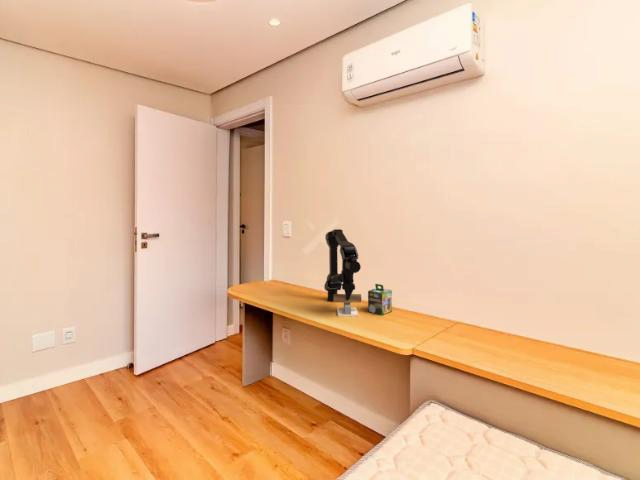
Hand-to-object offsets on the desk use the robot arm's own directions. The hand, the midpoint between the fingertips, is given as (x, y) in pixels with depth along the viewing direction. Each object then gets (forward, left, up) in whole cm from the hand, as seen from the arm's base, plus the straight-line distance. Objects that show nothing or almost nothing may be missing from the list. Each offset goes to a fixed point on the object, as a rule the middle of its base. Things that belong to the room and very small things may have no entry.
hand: (347, 299), depth 181 cm
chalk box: (-2, +17, -7) cm, 19 cm away
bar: (0, 0, -1) cm, 1 cm away
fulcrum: (0, 0, -7) cm, 7 cm away
